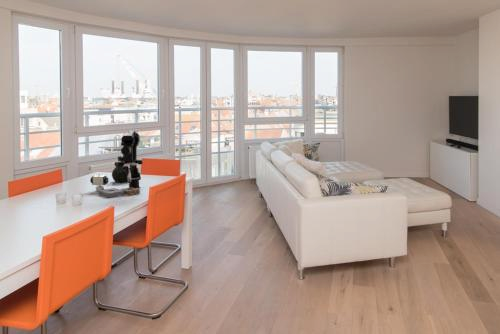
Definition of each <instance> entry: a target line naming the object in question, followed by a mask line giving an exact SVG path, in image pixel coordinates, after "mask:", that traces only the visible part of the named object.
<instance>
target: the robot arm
mask: <svg viewBox="0 0 500 334" xmlns="http://www.w3.org/2000/svg"><path fill="white" fill-rule="evenodd" d="M120 141H121V142H120V146H122V148H121V150H120V153H121V154H122V155H121V156H117V161H115V162H114V167H116V166H117V167H123V168H124V170H125V172H126V175H127V176H128V168H129V169H130V170H131V182H128V188H131V187H133V188H136V189H139V188H140V189H141V186H140V181H141V179H142V178H141V173H140V170H139V169H138V165H143V160H142V159H137V158H138V155H137V154H138V151H137V150H138V149H137V148H138V146H139V145H140V141H141V138H140V135H139V133H137V131H136V130H128V131H127V133H126V134H123V135H122V136H121V140H120Z"/></svg>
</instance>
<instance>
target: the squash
mask: <svg viewBox="0 0 500 334" xmlns="http://www.w3.org/2000/svg"><path fill="white" fill-rule="evenodd" d="M129 168H130V167H128V169H129ZM111 178H112V179H113V181H114V182H115V183H122V182H127V183H129V182H128V176H127V175H126V172H125V170H124V168H123V167H117V166H114V169H112V172H111Z"/></svg>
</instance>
